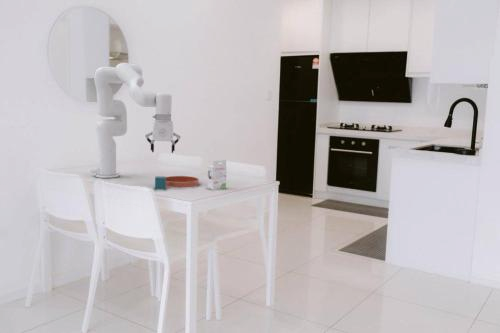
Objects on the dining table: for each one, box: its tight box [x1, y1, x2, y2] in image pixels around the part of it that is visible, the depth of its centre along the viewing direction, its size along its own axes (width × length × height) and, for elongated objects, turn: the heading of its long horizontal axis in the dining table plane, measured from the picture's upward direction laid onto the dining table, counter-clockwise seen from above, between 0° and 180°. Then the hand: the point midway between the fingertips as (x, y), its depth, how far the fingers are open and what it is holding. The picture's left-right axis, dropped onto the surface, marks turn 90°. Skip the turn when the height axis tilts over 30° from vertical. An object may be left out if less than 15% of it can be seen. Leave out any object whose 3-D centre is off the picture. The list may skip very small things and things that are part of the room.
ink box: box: [206, 159, 227, 190], centre depth 238 cm, size 9×5×15 cm, turn 131°
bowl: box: [165, 175, 200, 188], centre depth 246 cm, size 19×19×3 cm
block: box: [154, 175, 167, 190], centre depth 232 cm, size 5×5×6 cm
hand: (162, 152), depth 236 cm, fingers open, 9 cm apart
